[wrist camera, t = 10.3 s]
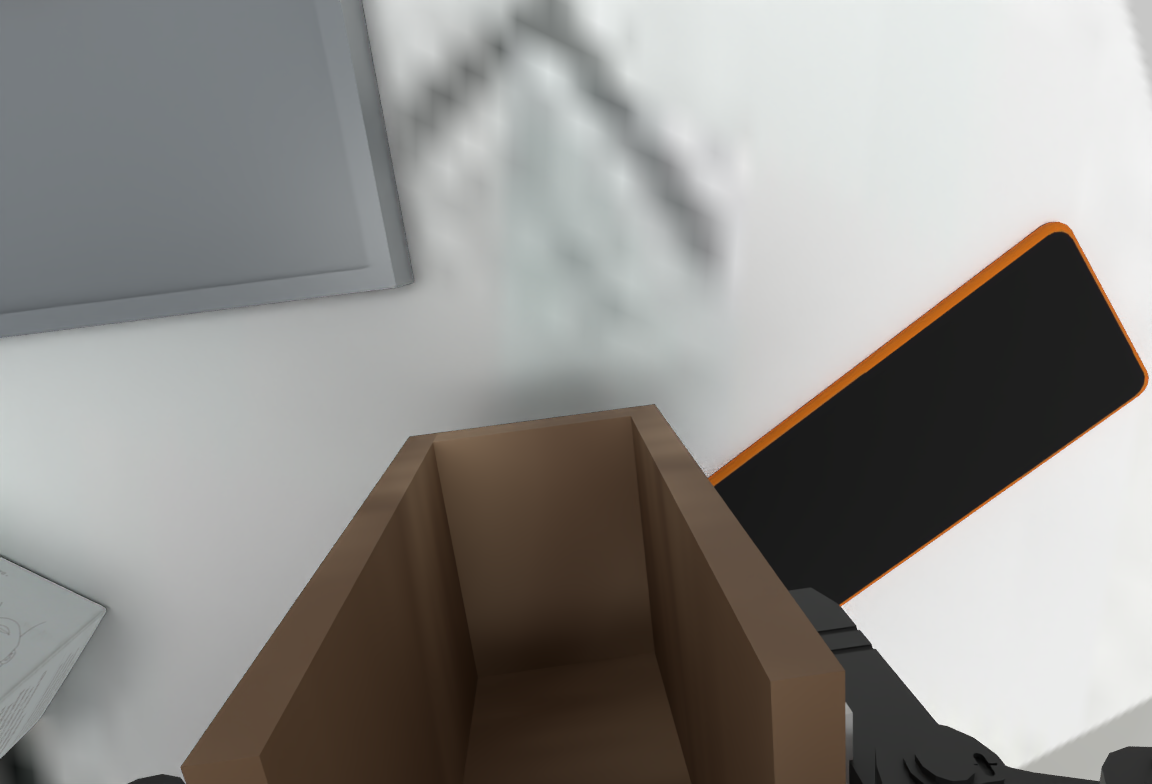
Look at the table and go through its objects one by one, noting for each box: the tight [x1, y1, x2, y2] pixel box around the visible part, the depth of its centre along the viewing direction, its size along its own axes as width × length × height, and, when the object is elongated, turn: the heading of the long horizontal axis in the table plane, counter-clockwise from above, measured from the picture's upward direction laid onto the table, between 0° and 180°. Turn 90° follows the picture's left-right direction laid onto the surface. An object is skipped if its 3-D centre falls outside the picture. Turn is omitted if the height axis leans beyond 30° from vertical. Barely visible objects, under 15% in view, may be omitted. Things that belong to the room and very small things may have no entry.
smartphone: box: [708, 222, 1149, 607], centre depth 21 cm, size 8×17×1 cm, turn 129°
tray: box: [0, 0, 414, 338], centre depth 15 cm, size 18×14×2 cm
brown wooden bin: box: [180, 404, 846, 784], centre depth 9 cm, size 5×6×8 cm
